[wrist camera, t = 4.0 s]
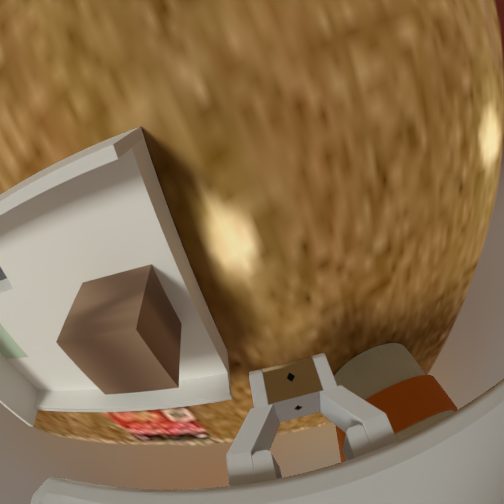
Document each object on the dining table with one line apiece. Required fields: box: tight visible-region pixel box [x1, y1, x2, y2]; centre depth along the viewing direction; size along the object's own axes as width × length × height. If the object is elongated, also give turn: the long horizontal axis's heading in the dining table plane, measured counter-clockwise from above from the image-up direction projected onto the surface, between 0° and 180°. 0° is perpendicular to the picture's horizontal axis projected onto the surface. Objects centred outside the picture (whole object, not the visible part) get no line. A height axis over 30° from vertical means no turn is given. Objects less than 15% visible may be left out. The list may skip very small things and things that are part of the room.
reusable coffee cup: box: [334, 343, 457, 462], centre depth 21 cm, size 13×12×15 cm
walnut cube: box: [56, 264, 182, 395], centre depth 14 cm, size 4×4×4 cm
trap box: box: [0, 127, 232, 426], centre depth 15 cm, size 20×17×6 cm
